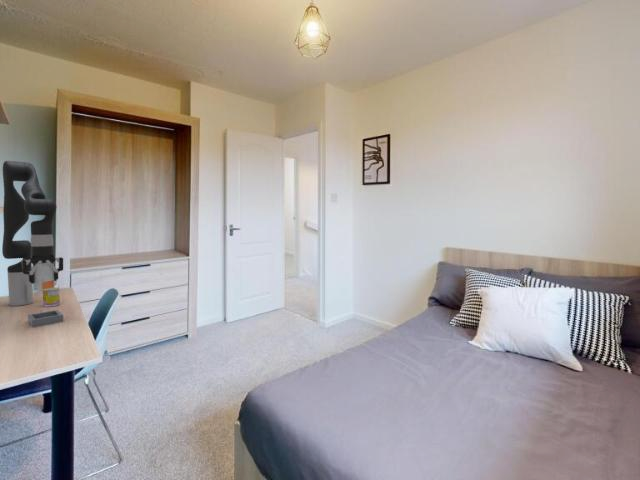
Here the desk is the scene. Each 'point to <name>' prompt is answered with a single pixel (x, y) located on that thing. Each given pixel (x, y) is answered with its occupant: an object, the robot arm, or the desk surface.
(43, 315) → the frame
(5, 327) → the desk surface
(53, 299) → the supplement bottle
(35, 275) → the skincare box
